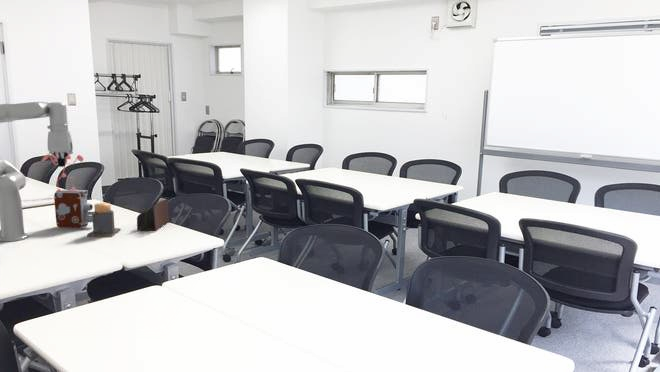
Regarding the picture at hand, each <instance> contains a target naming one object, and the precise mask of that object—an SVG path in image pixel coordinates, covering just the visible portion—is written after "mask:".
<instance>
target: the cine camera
mask: <svg viewBox="0 0 660 372" xmlns="http://www.w3.org/2000/svg"><path fill="white" fill-rule="evenodd" d="M88 191H89V190H87V189H85V190H84V189H76V190H71V189H62V190H61V189H60V191H58V192H56V191H55V192H54V194H53V195H54V196H53V201H54V211H55V223H56V227H57V228H59V229H83V228H86V227H87V226H88V225H89V223H93V218H92V212H93V211H92V210H93V208H94V207H93V206H94V205H93V204H92V203H88V195H89V192H88Z"/></svg>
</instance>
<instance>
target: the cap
mask: <svg viewBox="0 0 660 372" xmlns="http://www.w3.org/2000/svg"><path fill="white" fill-rule="evenodd" d="M93 206H94V207H93V208H94V211H95V213H96V214H105V213H110V212H111V210H112V209H111V206H112V205H111V203H110V202H99V203H95V204H94V205H93Z"/></svg>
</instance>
